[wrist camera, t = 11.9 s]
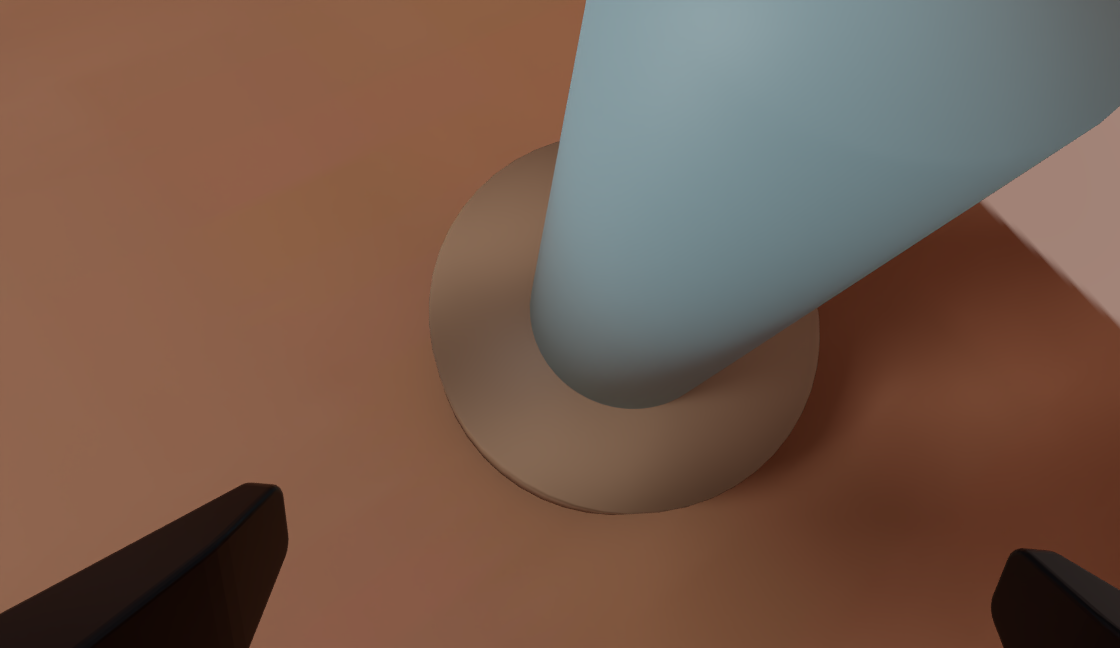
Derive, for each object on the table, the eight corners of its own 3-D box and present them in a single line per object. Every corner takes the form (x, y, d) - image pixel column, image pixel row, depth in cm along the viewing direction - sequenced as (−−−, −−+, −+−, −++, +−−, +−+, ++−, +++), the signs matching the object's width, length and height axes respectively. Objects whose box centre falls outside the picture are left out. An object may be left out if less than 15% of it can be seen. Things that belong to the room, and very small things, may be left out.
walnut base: (835, 437, 22) (887, 423, 19) (509, 573, 20) (512, 582, 17) (693, 144, 24) (720, 93, 21) (390, 237, 22) (376, 195, 19)
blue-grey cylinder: (727, 414, 18) (1224, 190, 6) (524, 403, 18) (605, 135, 6) (722, 227, 20) (1107, -257, 8) (535, 212, 20) (617, -332, 7)
